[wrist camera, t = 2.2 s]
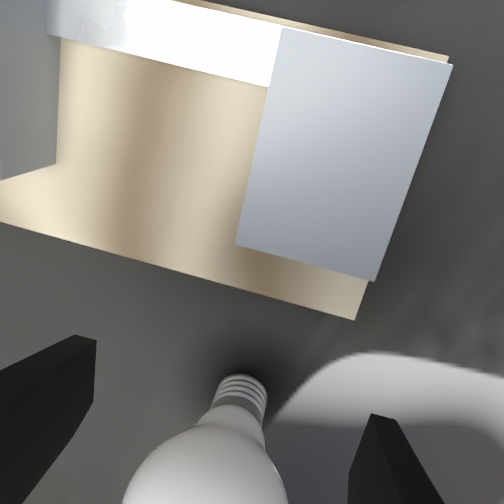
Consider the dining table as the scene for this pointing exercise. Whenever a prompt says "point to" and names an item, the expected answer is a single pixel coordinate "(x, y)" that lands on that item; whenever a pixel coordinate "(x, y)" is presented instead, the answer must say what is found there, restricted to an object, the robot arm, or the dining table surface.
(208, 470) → the lightbulb
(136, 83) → the rail board
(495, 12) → the dining table surface
